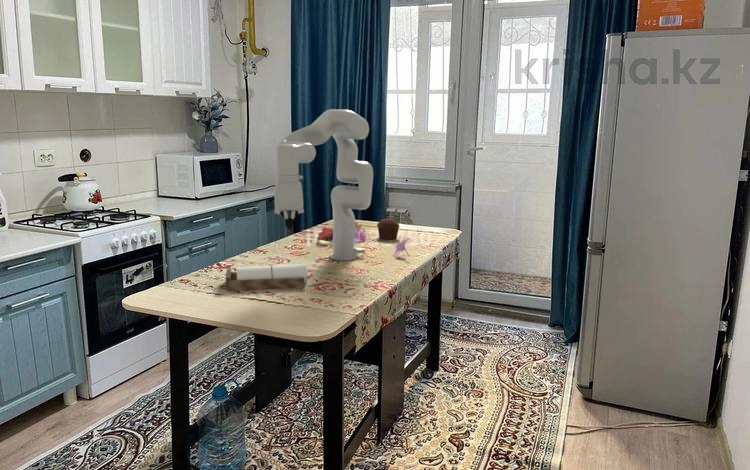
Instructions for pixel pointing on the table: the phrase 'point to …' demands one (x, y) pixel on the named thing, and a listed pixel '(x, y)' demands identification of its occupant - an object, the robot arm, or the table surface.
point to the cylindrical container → (272, 272)
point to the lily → (400, 247)
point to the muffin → (388, 229)
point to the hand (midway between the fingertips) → (289, 228)
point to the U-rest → (260, 283)
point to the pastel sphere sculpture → (327, 235)
